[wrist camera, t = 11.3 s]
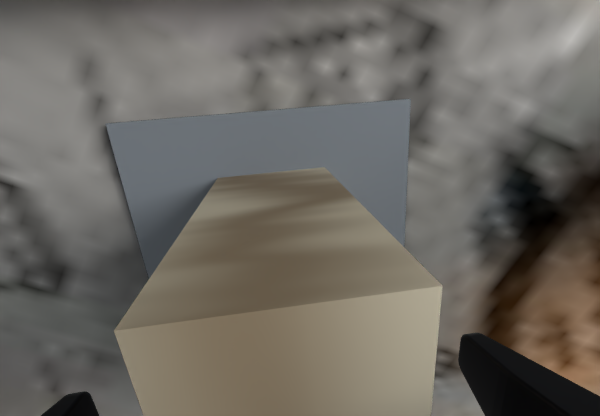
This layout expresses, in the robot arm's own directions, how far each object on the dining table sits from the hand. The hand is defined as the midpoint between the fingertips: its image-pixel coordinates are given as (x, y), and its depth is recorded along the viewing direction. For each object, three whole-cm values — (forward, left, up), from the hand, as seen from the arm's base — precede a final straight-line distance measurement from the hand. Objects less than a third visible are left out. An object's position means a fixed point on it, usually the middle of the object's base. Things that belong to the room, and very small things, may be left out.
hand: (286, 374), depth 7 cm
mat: (0, 0, -7) cm, 7 cm away
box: (0, 0, -7) cm, 7 cm away
